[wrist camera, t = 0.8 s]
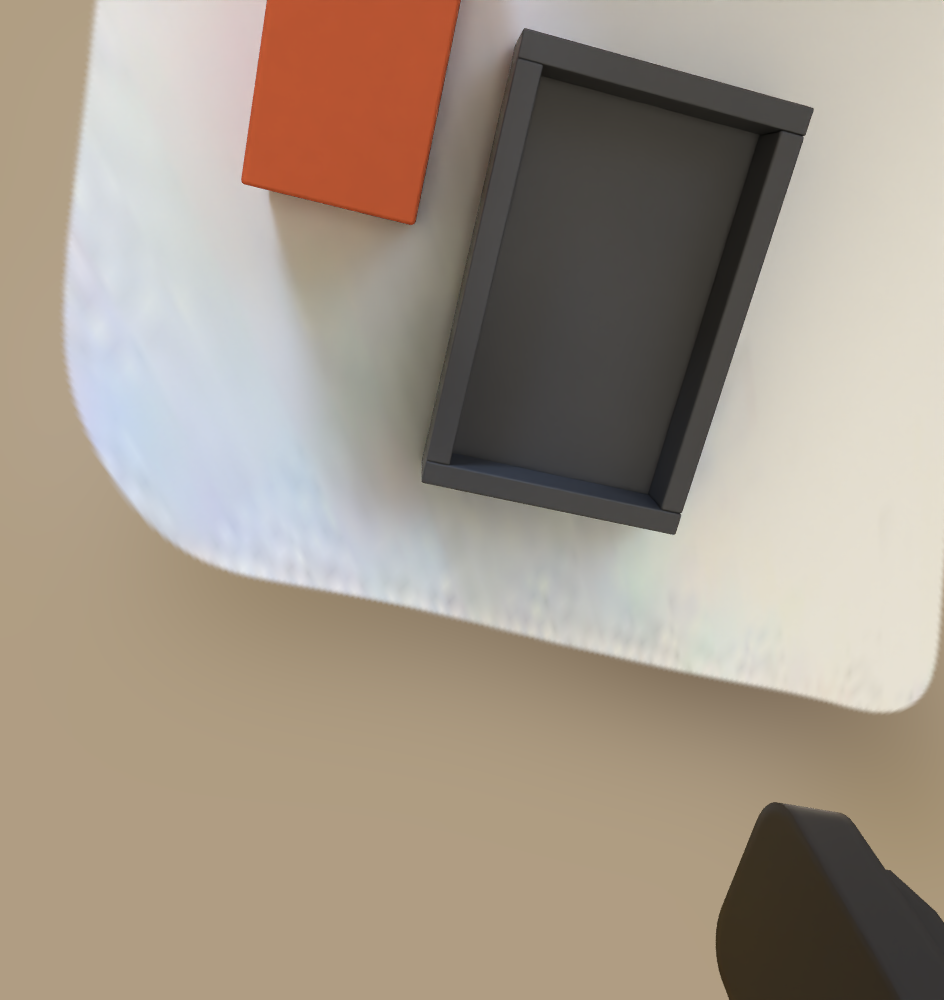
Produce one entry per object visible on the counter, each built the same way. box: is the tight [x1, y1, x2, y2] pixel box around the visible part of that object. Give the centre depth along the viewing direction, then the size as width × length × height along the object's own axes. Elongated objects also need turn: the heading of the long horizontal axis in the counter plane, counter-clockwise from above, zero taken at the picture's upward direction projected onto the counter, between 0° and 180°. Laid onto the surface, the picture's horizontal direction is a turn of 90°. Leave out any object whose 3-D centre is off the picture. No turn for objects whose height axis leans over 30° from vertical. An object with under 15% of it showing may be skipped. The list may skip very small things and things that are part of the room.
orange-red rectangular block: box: [241, 0, 461, 225], centre depth 25 cm, size 10×5×4 cm, turn 167°
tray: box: [422, 28, 814, 535], centre depth 28 cm, size 14×9×2 cm, turn 167°
